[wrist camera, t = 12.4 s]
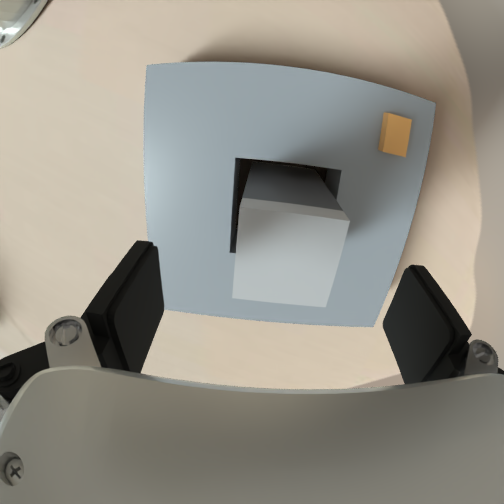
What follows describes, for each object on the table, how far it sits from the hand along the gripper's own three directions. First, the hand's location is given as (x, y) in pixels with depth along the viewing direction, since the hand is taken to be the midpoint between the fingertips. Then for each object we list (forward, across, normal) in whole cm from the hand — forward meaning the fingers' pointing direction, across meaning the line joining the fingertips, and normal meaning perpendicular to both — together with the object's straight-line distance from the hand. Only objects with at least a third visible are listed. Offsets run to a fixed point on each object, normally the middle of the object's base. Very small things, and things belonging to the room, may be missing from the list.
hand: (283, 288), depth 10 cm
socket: (+12, -1, 0) cm, 12 cm away
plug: (+12, -1, 0) cm, 13 cm away
